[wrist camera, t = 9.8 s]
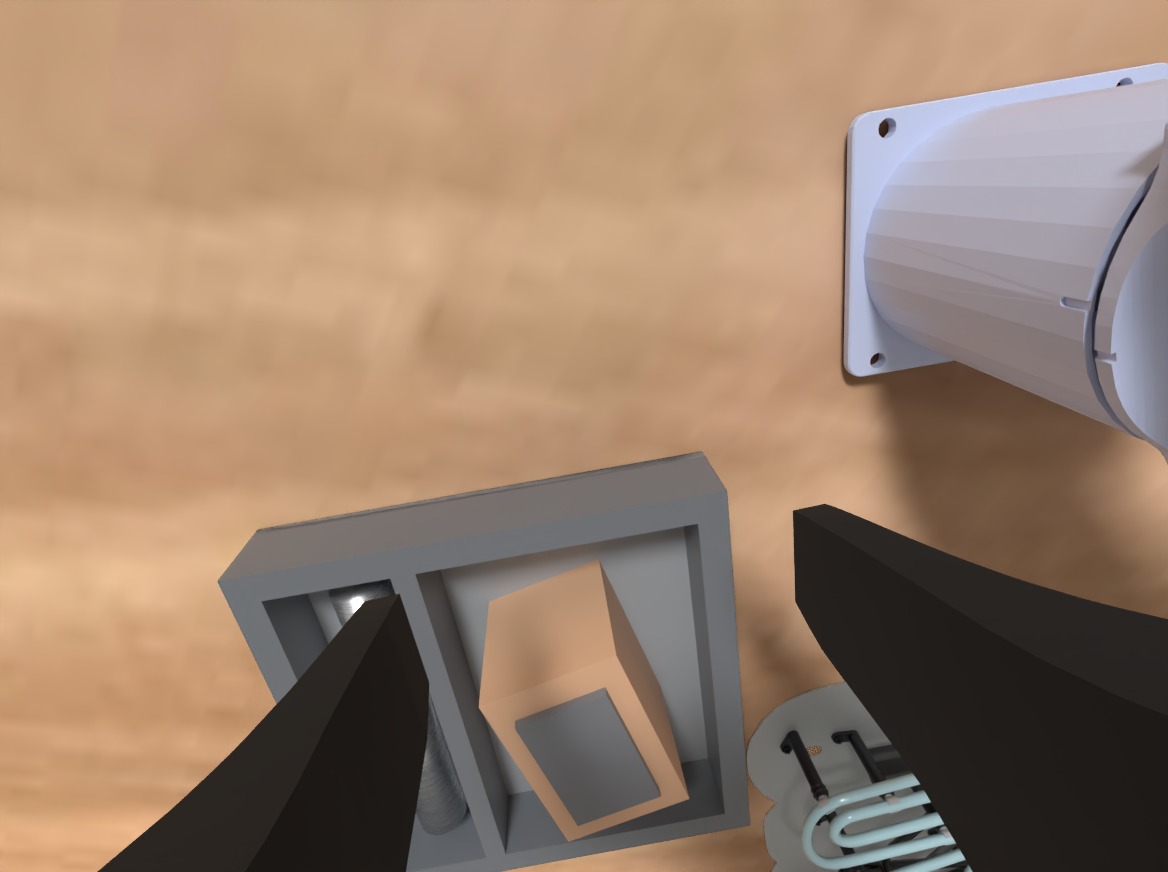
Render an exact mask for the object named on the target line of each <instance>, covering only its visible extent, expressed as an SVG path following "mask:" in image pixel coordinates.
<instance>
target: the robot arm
mask: <svg viewBox="0 0 1168 872" xmlns="http://www.w3.org/2000/svg"><path fill="white" fill-rule="evenodd" d="M1119 82H1120V83H1121V86H1118V87H1116V86H1117V84H1118V83H1119ZM883 120H886V121H887V122H888V125H889V130H888V133H887V134H886V136H885V137H883V138H882V137H881V136H880V135H879V131H878V129H879V125H880V123H881V122H882V121H883ZM877 353H879V359H878V361H877V362H876V363H875V364H872V365H871V364H870V360H871V358H872V356H873V355H874V354H877ZM950 361H957V362H960V363H962V364H965V365H967V366H969V367H972V368H974V369H976V370H979V371H981V372H983V373H986V374H988V375H991V376H993V377H995V378H998V379H1000V380H1002V381H1005V382H1007V383H1009V384H1012V385H1014V386H1016V387H1019V388H1021V389H1024V390H1026V391H1028V392H1031V393H1033V394H1035V395H1038V396H1040V397H1042V398H1045V399H1047V400H1050V401H1052V402H1054V403H1057V404H1059V405H1061V406H1064V407H1066V408H1068V409H1071V410H1073V411H1075V412H1078V413H1080V414H1083V415H1085V416H1087V417H1090V418H1092V419H1094V420H1097V421H1099V422H1101V423H1104V424H1106V425H1109V426H1111V427H1113V428H1116V429H1118V430H1120V431H1123V432H1125V433H1127V434H1130V435H1132V436H1134V437H1137V438H1140V439H1142V440H1145V441H1147V442H1148V443H1150V444H1151V445H1153V446H1154V447H1155V448H1157V449H1158V450H1159V451H1160V452H1161V453H1162V455H1163V456H1164V457H1165V460H1166V462H1167V464H1168V64H1166V63H1156V64H1150V65H1144V66H1138V67H1132V68H1126V69H1120V70H1114V71H1108V72H1102V73H1097V74H1091V75H1085V76H1079V77H1073V78H1067V79H1061V80H1055V81H1049V82H1043V83H1037V84H1031V85H1025V86H1020V87H1014V88H1008V89H1002V90H996V91H990V92H984V93H978V94H972V95H966V96H960V97H954V98H948V99H942V100H937V101H931V102H925V103H919V104H913V105H907V106H901V107H895V108H889V109H883V110H877V111H871V112H866V113H863V114H860V115H858V116H857V117H856V118H855V119H854V120H853V121H852V123H851V124H850V126H849V129H848V136H847V194H846V252H845V310H844V367H845V369H846V370H847V372H849V373H850V374H852V375H854V376H856V377H864V376H870V375H875V374H881V373H887V372H893V371H898V370H904V369H910V368H915V367H921V366H927V365H933V364H938V363H944V362H950ZM793 527H794V565H795V602H796V603H797V605H798V607H799V609H800V611H801V613H802V615H803V616H804V618H805V620H806V622H807V624H808V626H809V628H810V629H811V631H812V633H813V635H814V636H815V638H816V640H817V642H818V643H819V645H820V647H821V649H822V650H823V651H824V653H825V654H826V656H827V657H828V658H829V660H830V661H831V663H832V664H833V665H834V667H835V668H836V669H837V671H838V672H839V673H840V675H841V676H842V678H843V679H844V680H845V682H846V683H847V684H848V686H849V687H850V688H851V690H852V691H853V693H854V694H855V695H856V697H857V698H858V699H859V701H860V702H861V703H862V705H863V706H864V707H865V709H866V710H867V711H868V713H869V714H870V715H871V717H872V718H873V719H874V721H875V722H876V723H877V725H878V726H879V727H880V729H881V730H882V731H883V733H884V734H885V735H886V737H887V738H888V740H889V741H890V742H891V744H892V745H893V746H894V748H895V749H896V750H897V752H898V753H899V754H900V756H901V757H902V758H903V760H904V761H905V763H906V764H907V766H908V767H909V769H910V770H911V772H912V773H913V775H914V776H915V777H916V779H917V780H918V782H919V783H920V785H921V786H922V788H923V790H924V791H925V793H926V795H927V796H928V798H929V800H930V801H931V803H932V805H933V806H934V808H935V809H936V811H937V813H938V814H939V816H940V818H941V819H942V821H943V823H944V824H945V826H946V828H947V829H948V831H949V832H950V834H951V836H952V837H953V839H954V841H955V842H956V844H957V846H958V847H959V849H960V851H961V853H962V854H963V856H964V858H965V860H966V861H967V863H968V865H969V866H970V868H971V870H972V872H1168V619H1164V618H1159V617H1155V616H1151V615H1147V614H1142V613H1138V612H1134V611H1129V610H1125V609H1121V608H1117V607H1113V606H1109V605H1105V604H1101V603H1097V602H1093V601H1090V600H1086V599H1082V598H1079V597H1076V596H1072V595H1069V594H1065V593H1062V592H1059V591H1055V590H1052V589H1048V588H1045V587H1042V586H1038V585H1035V584H1031V583H1028V582H1025V581H1022V580H1019V579H1016V578H1013V577H1010V576H1007V575H1004V574H1001V573H999V572H996V571H993V570H990V569H988V568H985V567H982V566H979V565H976V564H974V563H971V562H968V561H965V560H963V559H960V558H958V557H955V556H952V555H950V554H947V553H945V552H942V551H940V550H937V549H935V548H932V547H930V546H927V545H925V544H922V543H920V542H917V541H915V540H913V539H910V538H908V537H905V536H903V535H901V534H898V533H896V532H894V531H891V530H889V529H887V528H884V527H882V526H879V525H877V524H875V523H872V522H870V521H868V520H865V519H863V518H861V517H858V516H856V515H853V514H851V513H848V512H846V511H843V510H841V509H838V508H836V507H833V506H830V505H827V504H822V505H818V506H813V507H808V508H803V509H799V510H794V511H793ZM428 714H429V680H428V677H427V674H426V671H425V668H424V665H423V662H422V659H421V656H420V653H419V650H418V647H417V644H416V641H415V638H414V635H413V632H412V629H411V626H410V623H409V620H408V617H407V614H406V611H405V608H404V605H403V602H402V599H401V596H400V594H396V595H391V596H387V597H382V598H377V599H372V600H368V601H365V602H364V603H363V604H362V605H361V606H360V607H359V608H358V609H357V610H356V612H355V613H354V614H353V615H352V616H351V618H350V619H349V620H348V621H347V622H346V624H345V625H344V626H343V627H342V628H341V630H340V631H339V632H338V633H337V635H336V636H335V637H334V638H333V639H332V641H331V642H330V643H329V644H328V646H327V647H326V648H325V649H324V650H323V652H322V653H321V654H320V655H319V656H318V657H317V659H316V660H315V661H314V662H313V663H312V665H311V666H310V667H309V668H308V669H307V671H306V672H305V673H304V674H303V675H302V676H301V678H300V679H299V680H298V681H297V682H296V684H295V685H294V686H293V687H292V688H291V689H290V690H289V691H288V693H287V694H286V695H285V696H284V697H283V698H282V699H281V700H280V701H279V702H278V703H277V705H276V706H275V707H274V708H273V709H272V710H271V711H270V712H269V713H268V714H267V715H266V717H265V718H264V719H263V720H262V721H261V722H260V723H259V724H258V725H257V726H256V727H255V729H254V730H253V731H252V732H251V733H250V734H249V735H248V736H247V737H246V738H245V739H244V740H243V741H242V742H241V743H240V744H239V745H238V747H237V748H236V749H235V750H234V751H233V752H232V753H231V754H230V755H229V756H228V757H227V758H226V759H225V760H224V761H222V762H221V763H220V764H219V765H218V766H217V767H216V768H215V769H214V770H213V771H212V772H211V773H210V774H209V775H208V776H207V777H206V778H205V779H204V780H203V781H202V782H200V783H199V784H198V785H197V786H196V787H195V788H194V789H193V790H192V791H191V792H190V793H189V794H188V795H187V796H186V797H184V798H183V799H182V800H181V801H180V802H179V803H178V804H177V805H176V806H175V807H173V808H172V809H171V810H170V811H169V812H168V813H167V814H165V815H164V816H163V817H162V818H161V819H160V820H158V821H157V822H156V823H155V824H154V825H152V826H151V827H150V828H149V829H148V830H146V831H145V832H144V833H143V834H142V835H141V836H139V837H138V838H137V839H136V840H135V841H133V842H132V843H131V844H130V845H129V846H128V847H126V848H125V849H124V850H123V851H122V852H120V853H119V854H118V855H117V856H116V857H114V858H113V859H112V860H111V861H110V862H109V863H107V864H106V865H105V866H104V867H103V868H101V869H100V870H99V871H98V872H406V868H407V862H408V856H409V850H410V844H411V838H412V832H413V826H414V819H415V813H416V807H417V801H418V795H419V789H420V783H421V777H422V770H423V764H424V758H425V751H426V744H427V736H428Z"/></svg>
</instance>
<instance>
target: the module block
mask: <svg viewBox="0 0 1168 872" xmlns="http://www.w3.org/2000/svg"><path fill="white" fill-rule="evenodd" d="M479 709H480V710H481V712H482V713H483V715H484V716H485V718H486V719H487V721H488V722H489V724H490V725H491V727H492V728H493V730H494V731H495V733H496V734H497V736H498V737H499V739H500V740H501V742H502V743H503V745H504V746H505V748H506V749H507V751H508V752H509V754H510V755H511V757H512V758H513V760H514V761H515V763H516V764H517V766H518V767H519V769H520V770H521V772H522V773H523V775H524V776H525V778H526V779H527V781H528V782H529V784H530V785H531V787H532V788H533V790H534V791H535V793H536V794H537V796H538V797H539V799H540V800H541V802H542V803H543V805H544V806H545V808H546V809H547V811H548V812H549V814H550V815H551V817H552V818H553V820H554V821H555V823H556V824H557V826H558V827H559V829H560V830H561V832H562V833H563V835H564V836H565V838H566V839H567V841H568V842H569V841H572V840H575V839H578V838H581V837H583V836H586V835H589V834H592V833H595V832H597V831H600V830H603V829H606V828H609V827H612V826H614V825H617V824H620V823H623V822H626V821H629V820H631V819H634V818H637V817H640V816H643V815H645V814H648V813H651V812H654V811H657V810H660V809H662V808H665V807H668V806H671V805H674V804H676V803H679V802H682V801H685V800H688V799H689V795H688V791H687V787H686V783H685V780H684V776H683V772H682V768H681V764H680V760H679V756H678V752H677V748H676V744H675V741H674V737H673V733H672V729H671V725H670V721H669V717H668V713H667V709H666V706H665V702H664V698H663V694H662V690H661V686H660V684H659V682H658V680H657V678H656V676H655V674H654V672H653V670H652V668H651V666H650V664H649V662H648V659H647V657H646V655H645V653H644V651H643V649H642V647H641V645H640V643H639V641H638V639H637V637H636V635H635V633H634V631H633V628H632V626H631V624H630V622H629V620H628V618H627V616H626V614H625V612H624V610H623V608H622V606H621V604H620V602H619V600H618V597H617V595H616V593H615V591H614V589H613V587H612V585H611V583H610V581H609V579H608V577H607V575H606V573H605V571H604V569H603V566H602V564H601V562H600V560H599V559H597V560H595V561H592V562H590V563H587V564H585V565H582V566H580V567H577V568H575V569H572V570H569V571H567V572H564V573H562V574H559V575H557V576H554V577H552V578H549V579H546V580H544V581H541V582H539V583H536V584H534V585H531V586H529V587H526V588H524V589H521V590H518V591H516V592H513V593H511V594H508V595H506V596H503V597H501V598H498V599H496V600H493V601H490V602H489V607H488V618H487V628H486V638H485V648H484V658H483V668H482V678H481V689H480V699H479Z"/></svg>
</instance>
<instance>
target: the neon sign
mask: <svg viewBox="0 0 1168 872" xmlns="http://www.w3.org/2000/svg"><path fill="white" fill-rule="evenodd" d="M812 746H820V747H821V750H820V751H819V752H818V753H817V754H814V755H809V754H808V752H807V750H806V749H807V748H810V747H812ZM746 762H747V770H748V773H749V777H750V779H751V780H752V782H753V784H754V785H755V787H756V788H757V789H758V790H759V791H760V792H761V793H762V794H763V795H765V796H766V797H767V798H769V799H771V800H773V801H774V802H776V803H775V804H774V805H773V806H772V808H771V809H770V810H769V811H768V812H767V813H766V816H765V818H764V820H763V827H764V835H765V841H766V846H767V851H768V853H769V855H770V857H771V858H772V859H773V860H774V861H776V863H775V864H774V866H773V868H772V870H771V872H972V870H971V868H970V866H969V865H968V863H967V861H966V860H965V858H964V856H963V854H962V853H961V851H960V849H959V847H958V846H957V844H956V842H955V841H954V839H953V837H952V836H951V834H950V832H949V831H948V829H947V828H946V826H945V824H944V823H943V821H942V819H941V818H940V816H939V814H938V813H937V811H936V809H935V808H934V806H933V805H932V803H931V801H930V800H929V798H928V796H927V795H926V793H925V791H924V790H923V788H922V786H921V785H920V783H919V782H918V780H917V779H916V777H915V776H914V775H913V773H912V772H911V770H910V769H909V767H908V766H907V764H906V763H905V761H904V760H903V758H902V757H901V756H900V754H899V753H898V752H897V750H896V749H895V748H894V746H893V745H892V744H891V742H890V741H889V740H888V738H887V737H886V735H885V734H884V733H883V731H882V730H881V729H880V727H879V726H878V725H877V723H876V722H875V721H874V719H873V718H872V717H871V715H870V714H869V713H868V711H867V710H866V709H865V707H864V706H863V705H862V703H861V702H860V701H859V699H858V698H857V697H856V695H855V694H854V693H853V691H852V690H851V688H850V687H849V686H848V684H847V683H846V682H845V681H843V682H839V683H835V684H831V685H826V686H823V687H819V688H815V689H812V690H809V691H806V692H803V693H801V694H798V695H796V696H794V697H792V698H790V699H788V700H786V701H784V702H783V703H781V704H779V705H778V706H776V707H775V708H774V709H773V710H772V711H770V712H769V713H768V714H767V715H766V716H765V717H764V718H763V719H762V721H761V722H760V724H759V725H758V727H757V728H756V730H755V731H754V733H753V735H752V736H751V738H750V740H749V744H748V747H747V753H746Z"/></svg>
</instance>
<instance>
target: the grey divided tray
mask: <svg viewBox="0 0 1168 872" xmlns="http://www.w3.org/2000/svg"><path fill="white" fill-rule="evenodd" d="M597 559H599V560H600V562H601V564H602V566H603V569H604V571H605V573H606V575H607V577H608V579H609V581H610V583H611V585H612V587H613V589H614V591H615V593H616V595H617V597H618V600H619V602H620V604H621V606H622V608H623V610H624V612H625V614H626V616H627V618H628V620H629V622H630V624H631V626H632V628H633V631H634V633H635V635H636V637H637V639H638V641H639V643H640V645H641V647H642V649H643V651H644V653H645V655H646V657H647V659H648V662H649V664H650V666H651V668H652V670H653V672H654V674H655V676H656V678H657V680H658V682H659V684H660V686H661V690H662V694H663V698H664V702H665V706H666V709H667V713H668V717H669V721H670V725H671V729H672V733H673V737H674V741H675V744H676V748H677V752H678V756H679V760H680V764H681V768H682V772H683V776H684V780H685V783H686V787H687V791H688V795H689V799H688V800H685V801H682V802H679V803H676V804H674V805H671V806H668V807H665V808H662V809H660V810H657V811H654V812H651V813H648V814H645V815H643V816H640V817H637V818H634V819H631V820H629V821H626V822H623V823H620V824H617V825H614V826H612V827H609V828H606V829H603V830H600V831H597V832H595V833H592V834H589V835H586V836H583V837H581V838H578V839H575V840H572V841H569V842H568V841H567V839H566V838H565V836H564V835H563V833H562V832H561V830H560V829H559V827H558V826H557V824H556V823H555V821H554V820H553V818H552V817H551V815H550V814H549V812H548V811H547V809H546V808H545V806H544V805H543V803H542V802H541V800H540V799H539V797H538V796H537V794H536V793H535V791H534V790H533V788H532V787H531V785H530V784H529V782H528V781H527V779H526V778H525V776H524V775H523V773H522V772H521V770H520V769H519V767H518V766H517V764H516V763H515V761H514V760H513V758H512V757H511V755H510V754H509V752H508V751H507V749H506V748H505V746H504V745H503V743H502V742H501V740H500V739H499V737H498V736H497V734H496V733H495V731H494V730H493V728H492V727H491V725H490V724H489V722H488V721H487V719H486V718H485V716H484V715H483V713H482V712H481V710H480V709H479V699H480V689H481V678H482V668H483V658H484V648H485V638H486V628H487V618H488V607H489V602H490V601H493V600H496V599H498V598H501V597H503V596H506V595H508V594H511V593H513V592H516V591H518V590H521V589H524V588H526V587H529V586H531V585H534V584H536V583H539V582H541V581H544V580H546V579H549V578H552V577H554V576H557V575H559V574H562V573H564V572H567V571H569V570H572V569H575V568H577V567H580V566H582V565H585V564H587V563H590V562H592V561H595V560H597ZM385 579H390V580H391V583H392V586H393V589H394V592H395V595H396V594H400V596H401V599H402V602H403V605H404V608H405V611H406V614H407V617H408V620H409V623H410V626H411V629H412V632H413V635H414V638H415V641H416V644H417V647H418V650H419V653H420V656H421V659H422V662H423V665H424V668H425V671H426V674H427V677H428V680H429V694H430V696H431V699H432V702H433V705H434V708H435V711H436V714H437V717H438V720H439V723H440V726H441V728H442V731H443V734H444V737H445V740H446V743H447V746H448V749H449V752H450V755H451V757H452V760H453V763H454V766H455V769H456V772H457V775H458V778H459V781H460V784H461V787H462V789H463V792H464V795H465V798H466V802H467V809H466V812H465V815H464V817H463V819H462V820H461V822H460V823H459V824H458V825H457V826H456V827H455V828H454V829H452V830H451V831H449V832H447V833H445V834H441V835H431V834H428V833H426V832H425V831H424V830H423V829H422V827H421V825H420V822H419V820H418V817H417V815H416V813H415V819H414V826H413V832H412V838H411V844H410V850H409V856H408V862H407V868H406V872H501V871H506V870H512V869H517V868H522V867H528V866H533V865H539V864H544V863H549V862H555V861H560V860H566V859H571V858H576V857H582V856H587V855H593V854H598V853H603V852H609V851H614V850H620V849H625V848H630V847H636V846H641V845H647V844H652V843H657V842H663V841H668V840H674V839H679V838H684V837H690V836H695V835H701V834H706V833H711V832H717V831H722V830H728V829H733V828H738V827H744V826H749V825H750V817H749V802H748V788H747V773H746V759H745V744H744V729H743V715H742V700H741V686H740V671H739V656H738V642H737V627H736V613H735V598H734V583H733V569H732V554H731V540H730V525H729V511H728V496H727V490H726V488H725V487H724V485H723V484H722V482H721V480H720V479H719V477H718V476H717V474H716V473H715V471H714V469H713V468H712V466H711V465H710V463H709V462H708V460H707V458H706V457H705V455H704V454H703V452H696V453H691V454H685V455H679V456H674V457H668V458H662V459H657V460H651V461H645V462H640V463H634V464H628V465H622V466H617V467H611V468H605V469H600V470H594V471H588V472H583V473H577V474H571V475H566V476H560V477H554V478H549V479H543V480H537V481H532V482H526V483H520V484H515V485H509V486H503V487H498V488H492V489H486V490H481V491H475V492H469V493H463V494H458V495H452V496H446V497H441V498H435V499H429V500H424V501H418V502H412V503H407V504H401V505H395V506H390V507H384V508H378V509H373V510H367V511H361V512H356V513H350V514H344V515H339V516H333V517H327V518H321V519H316V520H310V521H304V522H299V523H293V524H287V525H282V526H276V527H270V528H265V529H259V530H257V531H256V533H255V534H254V535H253V536H252V538H251V539H250V540H249V541H248V543H247V544H246V545H245V547H244V548H243V549H242V550H241V552H240V553H239V554H238V556H237V557H236V558H235V559H234V561H233V562H232V563H231V565H230V566H229V567H228V568H227V570H226V571H225V572H224V573H223V575H222V576H221V577H220V579H219V580H218V581H217V582H218V584H219V586H220V588H221V590H222V592H223V594H224V596H225V598H226V600H227V602H228V604H229V606H230V608H231V610H232V613H233V615H234V617H235V619H236V621H237V623H238V625H239V627H240V629H241V631H242V633H243V635H244V637H245V639H246V641H247V644H248V646H249V648H250V650H251V652H252V654H253V656H254V658H255V660H256V662H257V664H258V666H259V668H260V670H261V672H262V675H263V677H264V679H265V681H266V683H267V685H268V687H269V689H270V691H271V693H272V695H273V697H274V699H275V701H276V703H278V702H279V701H280V700H281V699H282V698H283V697H284V696H285V695H286V694H287V693H288V691H289V690H290V689H291V688H292V687H293V686H294V685H295V684H296V682H297V681H298V680H299V679H300V678H301V676H302V675H303V674H304V673H305V672H306V671H307V669H308V668H309V667H310V666H311V665H312V663H313V662H314V661H315V660H316V659H317V657H318V656H319V655H320V654H321V653H322V652H323V650H324V649H325V648H326V647H327V646H328V644H329V643H330V642H331V641H332V639H333V638H334V637H335V636H336V635H337V633H338V632H339V631H340V630H341V628H342V626H341V624H340V621H339V619H338V616H337V614H336V611H335V609H334V606H333V604H332V601H331V599H330V596H329V589H334V588H340V587H346V586H351V585H357V584H362V583H368V582H374V581H379V580H385Z"/></svg>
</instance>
